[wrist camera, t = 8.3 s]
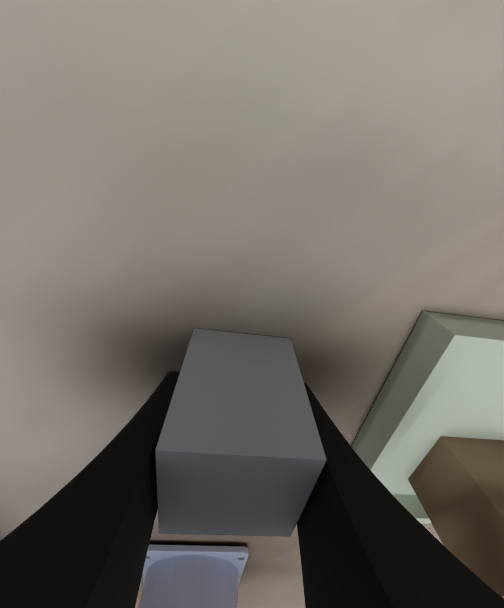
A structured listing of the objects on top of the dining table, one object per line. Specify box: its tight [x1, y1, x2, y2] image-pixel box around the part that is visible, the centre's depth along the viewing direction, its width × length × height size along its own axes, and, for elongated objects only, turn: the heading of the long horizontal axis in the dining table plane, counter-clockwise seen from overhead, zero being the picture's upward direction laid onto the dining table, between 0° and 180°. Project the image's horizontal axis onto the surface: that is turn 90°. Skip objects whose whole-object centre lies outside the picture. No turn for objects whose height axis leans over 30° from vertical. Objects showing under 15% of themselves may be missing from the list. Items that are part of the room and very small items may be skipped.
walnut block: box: [408, 436, 504, 599], centre depth 12 cm, size 4×4×5 cm
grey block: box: [155, 328, 326, 537], centre depth 9 cm, size 4×4×5 cm
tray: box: [351, 311, 504, 524], centre depth 13 cm, size 13×13×2 cm
